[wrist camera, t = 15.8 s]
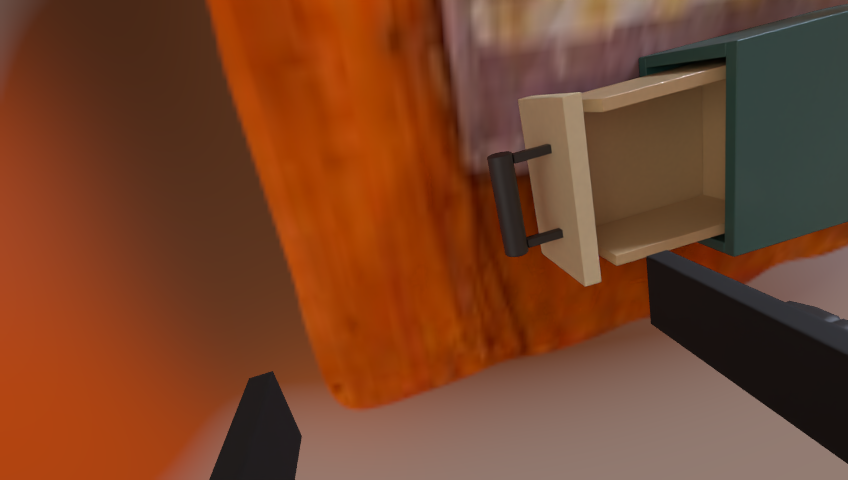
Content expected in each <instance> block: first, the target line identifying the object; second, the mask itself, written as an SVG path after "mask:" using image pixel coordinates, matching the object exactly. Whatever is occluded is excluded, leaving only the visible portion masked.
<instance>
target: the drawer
mask: <svg viewBox="0 0 848 480" xmlns="http://www.w3.org/2000/svg"><path fill="white" fill-rule="evenodd" d="M518 104H519V110H520V117H521V123H522V129H523V136H524V142H525V148H526V150H522V151H519V152H515V153H511V152H509V151H506V152H499V153H495V154H492V155H490V156H488V157H487V160H488V166H489V171H490V176H491V181H492V187H493V192H494V197H495V202H496V208H497V213H498V218H499V223H500V229H501V234H502V239H503V244H504V250H505V254H506V255H507V256H509V257H518V256H522V255H524V254H526V253H527V252H528V247H529V248H530V247H533V246H537V245H540V244H541V250H542V254H544V255H545V256H546V257H548V258H549V259H550V260H551V261H553V262H554V263H555V264H557V265H558V266H559V267H560V268H562V269H563V270H564V271H566V272H567V273H568V274H569V275H571V276H572V277H573V278H575V279H576V280H577V281H578V282H580V283H581V284H582V285H584V286H585V287H586V286H589V285H593V284H596V283H599V282H601V274H600V265H599V255H600V256H601V257H603V258H605V259H606V260H608V261H610V262H611V263H613V264H615V265H616V266H619V265H622V264H625V263H628V262H632V261H635V260H638V259H642V258H645V257H646V256H649V255H652V254H655V253H658V252H662V251H665V250H671V249H674V248H678V247H681V246H684V245H688V244H691V243H694V242H697V241H701V240H704V239H707V238H711V237H714V236H717V235H720V234H724V233H725V130H726V57H724V58H717V59H710V60H703V61H699V62H695V63H691V64H688V65H684V66H680V67H677V68H673V69H669V70H665V71H662V72H658V73H654V74H651V75H647V76H643V77H639V78H636V79H632V80H628V81H625V82H621V83H617V84H613V85H610V86H606V87H602V88H599V89H595V90H591V91H587V92H584V93H581V92H575V93H561V94H547V95H534V96H529V97H525V98H522V99H518ZM526 160H527V161H528V167H529V174H530V180H531V186H532V193H533V199H534V205H535V212H536V218H537V225H538V231H539V234H536V235H532V236H529V237H526V233H525V227H524V221H523V215H522V210H521V204H520V198H519V192H518V186H517V180H516V174H515V168H514V163H519V162H522V161H526Z"/></svg>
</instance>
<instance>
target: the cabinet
mask: <svg viewBox="0 0 848 480" xmlns="http://www.w3.org/2000/svg"><path fill="white" fill-rule="evenodd" d="M724 57H726V130H725V233H724V234H720V235H717V236H714V237H711V238H707V239H704V240H701V241H697V242H698V243H700V244H703V245H705V246H708V247H711V248H713V249H716V250H718V251H721V252H723V253H726V254H728V255H731V256H734V257H735V256H738V255H741V254H745V253H748V252H751V251H754V250H758V249H761V248H764V247H767V246H770V245H774V244H777V243H780V242H783V241H787V240H790V239H793V238H796V237H800V236H803V235H806V234H809V233H812V232H816V231H819V230H822V229H825V228H829V227H832V226H835V225H838V224H842V223H845V222H848V4H844V5H840V6H835V7H830V8H825V9H821V10H817V11H813V12H809V13H806V14H802V15H798V16H794V17H791V18H787V19H783V20H779V21H776V22H772V23H768V24H764V25H760V26H757V27H753V28H749V29H745V30H742V31H738V32H734V33H730V34H727V35H723V36H719V37H715V38H711V39H708V40H704V41H700V42H696V43H693V44H689V45H685V46H681V47H678V48H674V49H670V50H666V51H663V52H659V53H655V54H651V55H647V56H644V57H640V58H639V73H640V77H643V76H647V75H651V74H654V73H658V72H662V71H665V70H669V69H673V68H677V67H680V66H684V65H688V64H691V63H695V62H699V61H703V60H710V59H717V58H724Z"/></svg>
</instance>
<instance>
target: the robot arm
mask: <svg viewBox="0 0 848 480" xmlns="http://www.w3.org/2000/svg"><path fill="white" fill-rule="evenodd" d="M646 259H647V273H648V288H649V302H650V316H651V324H652V325H654V326H655V327H656V328H658V329H659V330H661V331H662V332H663V333H665V334H666V335H668V336H669V337H671V338H672V339H673V340H675V341H676V342H677V343H679V344H680V345H682V346H683V347H685V348H686V349H687V350H689V351H690V352H692V353H693V354H694V355H696V356H697V357H699V358H700V359H701V360H703V361H704V362H706V363H707V364H708V365H710V366H711V367H713V368H714V369H715V370H717V371H718V372H720V373H721V374H722V375H724V376H725V377H727V378H728V379H729V380H731V381H732V382H734V383H735V384H736V385H738V386H739V387H741V388H742V389H743V390H745V391H746V392H748V393H749V394H750V395H752V396H753V397H755V398H756V399H758V400H759V401H760V402H762V403H763V404H765V405H766V406H767V407H769V408H770V409H772V410H773V411H774V412H776V413H777V414H779V415H780V416H782V417H783V418H784V419H786V420H787V421H788V422H790V423H791V424H793V425H794V426H795V427H797V428H798V429H800V430H801V431H802V432H804V433H805V434H807V435H808V436H809V437H811V438H812V439H814V440H815V441H817V442H818V443H819V444H821V445H822V446H824V447H825V448H826V449H828V450H829V451H830V452H832V453H833V454H835V455H836V456H837V457H839V458H840V459H842V460H843V461H845V462H846V463H847V464H848V320H845V319H840V318H839V317H838V316H836V315H834V314H831V313H829V312H827V311H824V310H822V309H819V308H817V307H814V306H809V305H805V304H801V303H797V302H792V301H788V302H783V301H781V300H779V299H776V298H774V297H772V296H770V295H767V294H765V293H762V292H760V291H758V290H756V289H754V288H751V287H749V286H747V285H745V284H742V283H740V282H738V281H736V280H733V279H731V278H729V277H727V276H724V275H722V274H720V273H718V272H715V271H713V270H711V269H708V268H706V267H704V266H702V265H699V264H697V263H695V262H693V261H690V260H688V259H686V258H684V257H681V256H679V255H677V254H674V253H672V252H670V251H668V250H665V251H662V252H658V253H655V254H652V255H649V256H646ZM301 437H302V436H301V434H300V431H299V429H298V427H297V425H296V422H295V420H294V418H293V415H292V413H291V411H290V409H289V407H288V404H287V402H286V400H285V397H284V395H283V393H282V391H281V388H280V386H279V384H278V382H277V380H276V378H275V375H274V373H273V371H272V372H268V373H265V374H262V375H259V376H256V377H252V378H249V380H248V383H247V385H246V388H245V390H244V393H243V396H242V398H241V401H240V403H239V406H238V408H237V411H236V413H235V416H234V418H233V421H232V423H231V426H230V429H229V431H228V434H227V436H226V439H225V441H224V444H223V446H222V449H221V452H220V454H219V457H218V459H217V462H216V464H215V467H214V469H213V472H212V474H211V477H210V480H295V474H296V468H297V462H298V456H299V449H300V444H301Z"/></svg>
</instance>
